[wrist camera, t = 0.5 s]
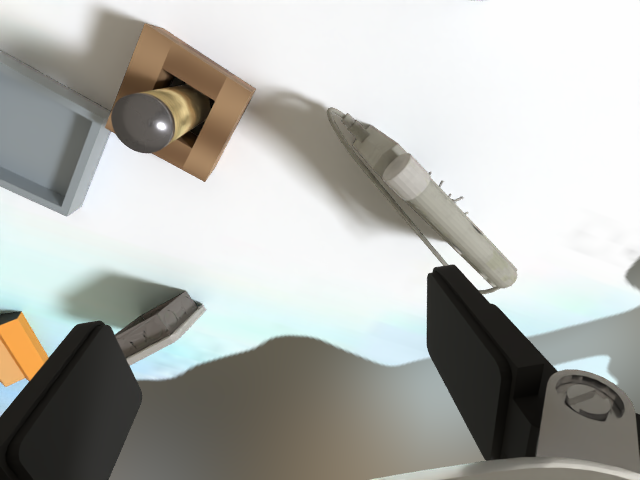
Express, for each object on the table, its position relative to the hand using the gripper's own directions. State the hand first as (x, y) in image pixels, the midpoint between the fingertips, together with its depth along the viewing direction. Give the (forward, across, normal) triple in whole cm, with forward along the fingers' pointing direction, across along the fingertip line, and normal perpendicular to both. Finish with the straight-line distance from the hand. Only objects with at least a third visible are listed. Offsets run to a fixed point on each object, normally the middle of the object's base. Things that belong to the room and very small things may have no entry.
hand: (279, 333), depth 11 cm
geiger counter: (+33, -13, +6) cm, 36 cm away
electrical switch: (+34, +19, +20) cm, 43 cm away
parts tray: (+33, +25, -4) cm, 42 cm away
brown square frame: (+33, +9, -5) cm, 34 cm away
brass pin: (+33, +9, -5) cm, 34 cm away
